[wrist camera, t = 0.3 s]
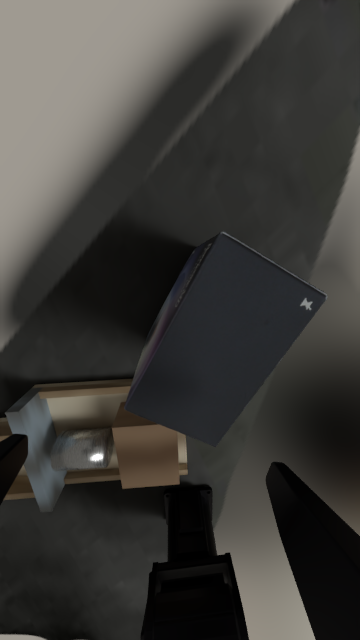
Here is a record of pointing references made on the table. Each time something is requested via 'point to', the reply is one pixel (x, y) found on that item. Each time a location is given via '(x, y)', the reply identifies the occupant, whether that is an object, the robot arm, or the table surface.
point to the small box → (218, 338)
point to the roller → (82, 449)
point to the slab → (145, 451)
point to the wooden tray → (63, 415)
